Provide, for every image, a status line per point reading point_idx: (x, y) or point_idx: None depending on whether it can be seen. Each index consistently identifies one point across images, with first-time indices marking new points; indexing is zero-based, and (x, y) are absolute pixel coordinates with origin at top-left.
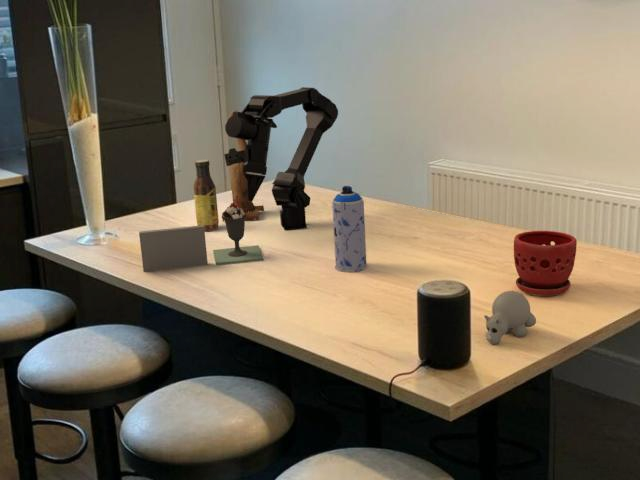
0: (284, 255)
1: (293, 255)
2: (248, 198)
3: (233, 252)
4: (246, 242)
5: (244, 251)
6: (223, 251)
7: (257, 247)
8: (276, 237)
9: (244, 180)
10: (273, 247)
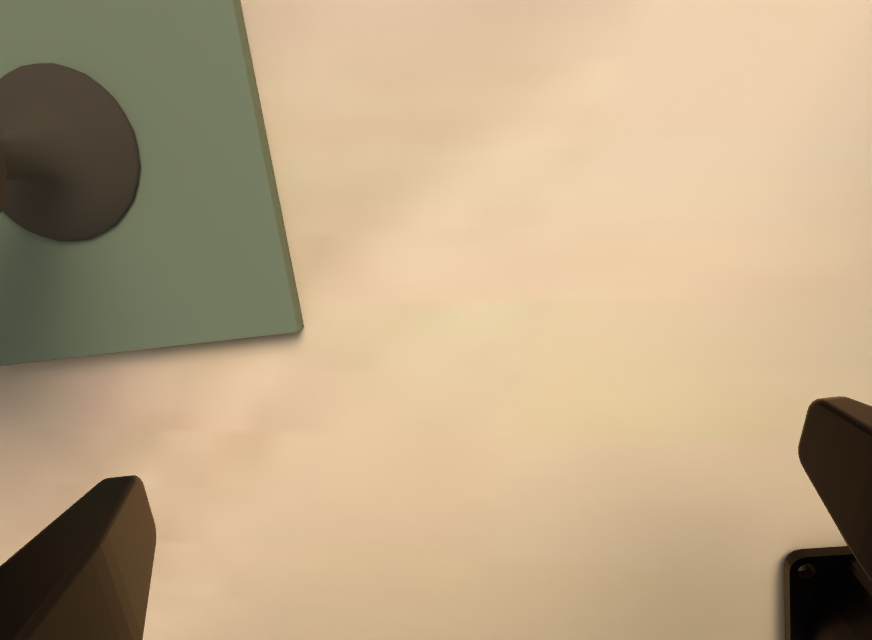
0: None
1: None
2: (80, 500)
3: (10, 117)
4: (491, 212)
5: (69, 217)
6: (143, 4)
7: (230, 324)
8: (584, 473)
9: None
10: (286, 443)
